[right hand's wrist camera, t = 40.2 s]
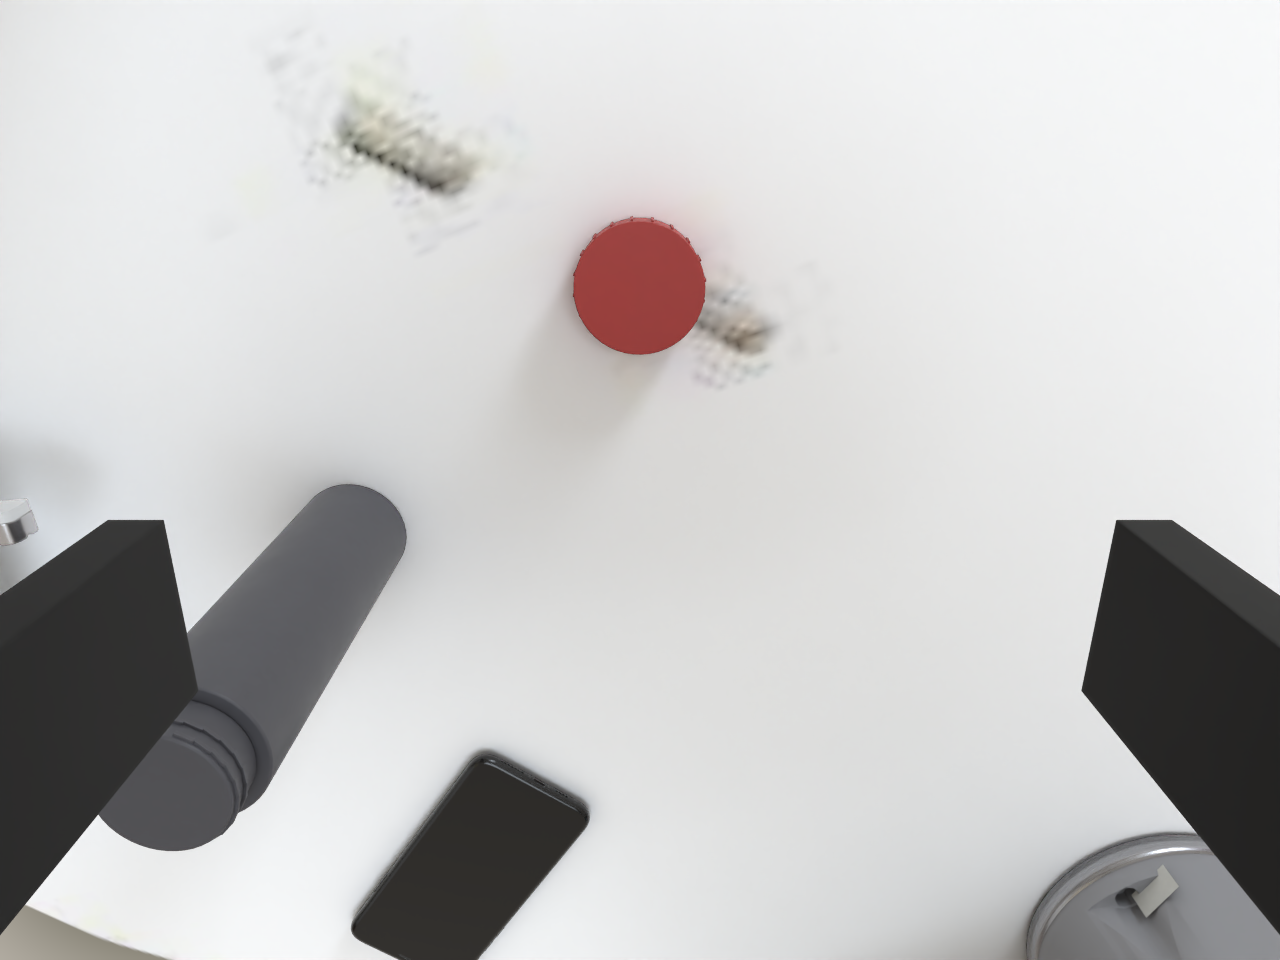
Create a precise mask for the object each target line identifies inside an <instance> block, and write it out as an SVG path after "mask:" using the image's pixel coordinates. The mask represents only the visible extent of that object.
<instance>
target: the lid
mask: <svg viewBox="0 0 1280 960" xmlns="http://www.w3.org/2000/svg"><path fill="white" fill-rule="evenodd" d="M580 256H581V258H580V260H579V263H578V265H577V268H576V270H575V272H574V274H573V276H575V277H574V294H573V297H574V299H575V304H576V308H577V311H578V313H579V317H580V318H581V320H582V321H583V323H584V325H585V326H586V327H587V329H588V330H589V331H590V333H591V334H592V335H593V336H594V337H595V338H597V339H598V340H599V341H600V342H602V343H603V344H605V345H606V346H608V347H610V348H612V349H614V350H617V351H620V352H623V353H628V354H640V355H642V354H651V353H655V352H659V351H662V350H664V349H667V348H669V347H671V346H672V345H674V344H676V343H677V342H678V341H680V340H681V339H682V338H683V337H684V336H685V335H686V334H687V333H688V332H689V331H690V330H691V329H692V327H693V326H694V324H695V323H696V322H697V319H698V317H699V315H700V313H701V310H702V307H703V303H704V302H705V300H704V297H705V282H706V278H705V276H704V274H703V269H702V266H701V264H700V261H701V259H700V257H699V255H696V253H695V251H694V249H693V248H692V246H691V245H690V241H689V239H688V238H685V237H684V236H683V235H682V234H680V233H679V232H678V231H677V230H676V229H674V227H673V225H670V226H669V225H667V224H665V223H663V222H660V221H657V220H654V218H653V217H651V219H648V218H633V216H631V218H630V219H625V220H621V221H618V222H616V223H613V222H611V224H610V226H608V227H606V228H605V229H603V230H602V231H601V232H599V233H598V234H596V233H595V234H594V236H593V239H592V240H591V242H590V243H589V244H588V246H587V247H586V249H585V250H582V252H581V254H580Z"/></svg>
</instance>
